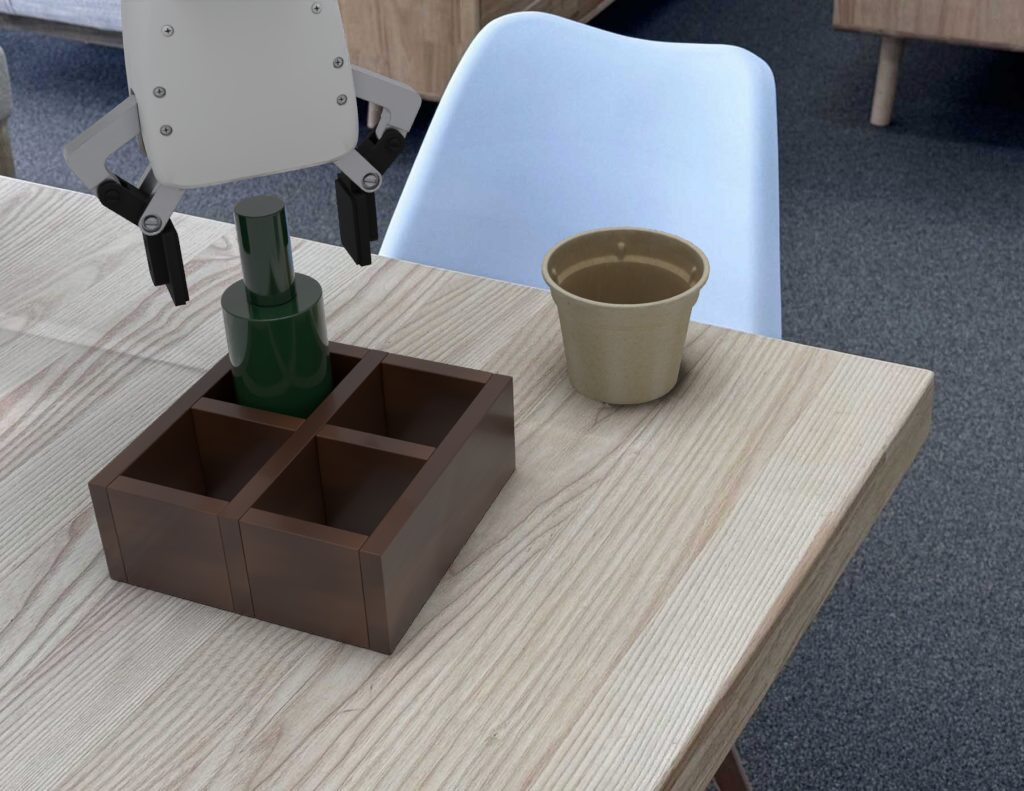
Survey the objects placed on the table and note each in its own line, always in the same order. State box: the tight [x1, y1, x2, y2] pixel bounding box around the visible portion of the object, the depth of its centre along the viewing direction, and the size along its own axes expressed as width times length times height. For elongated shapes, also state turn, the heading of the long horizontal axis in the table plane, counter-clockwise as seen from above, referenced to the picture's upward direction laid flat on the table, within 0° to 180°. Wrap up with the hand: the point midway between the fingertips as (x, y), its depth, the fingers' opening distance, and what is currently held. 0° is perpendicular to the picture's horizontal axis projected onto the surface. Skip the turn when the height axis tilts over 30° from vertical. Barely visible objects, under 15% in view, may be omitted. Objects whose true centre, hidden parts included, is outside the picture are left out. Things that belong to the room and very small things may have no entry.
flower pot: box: [540, 226, 711, 405], centre depth 81 cm, size 9×9×9 cm
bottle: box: [220, 194, 334, 420], centre depth 73 cm, size 5×5×16 cm
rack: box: [87, 340, 517, 655], centre depth 72 cm, size 16×16×6 cm
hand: (268, 273), depth 71 cm, fingers open, 9 cm apart
